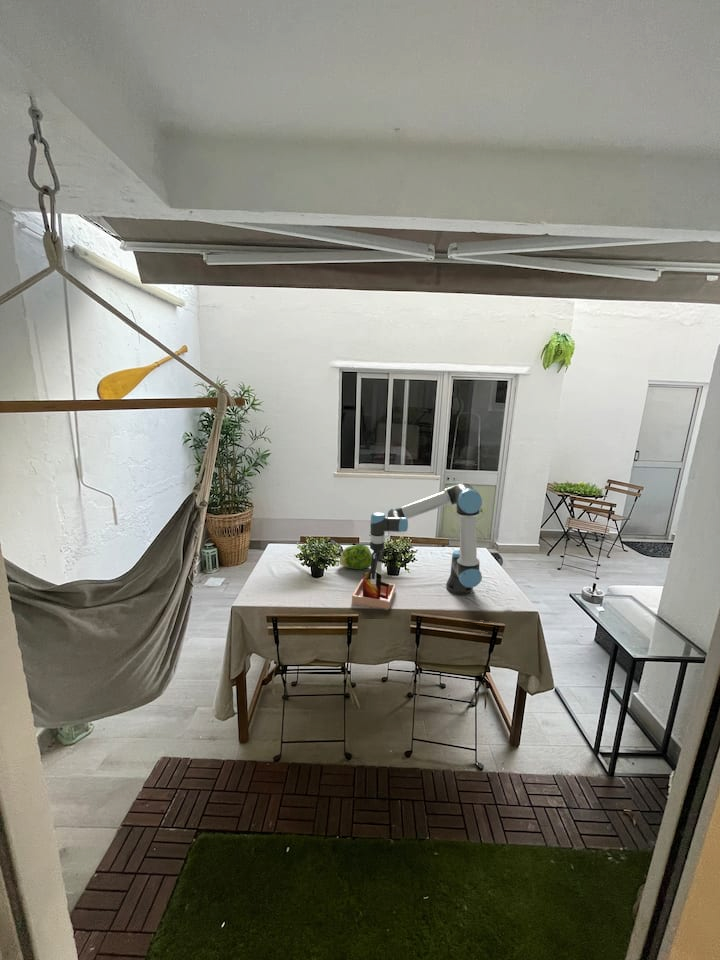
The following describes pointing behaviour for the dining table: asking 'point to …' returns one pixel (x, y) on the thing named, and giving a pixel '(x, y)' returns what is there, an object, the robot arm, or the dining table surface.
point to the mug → (374, 587)
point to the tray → (372, 602)
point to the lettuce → (356, 557)
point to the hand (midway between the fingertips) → (376, 578)
